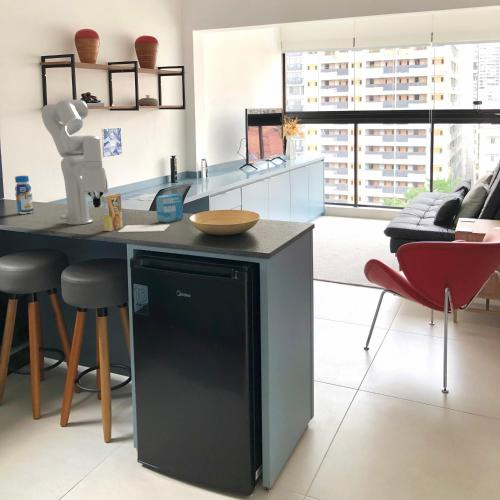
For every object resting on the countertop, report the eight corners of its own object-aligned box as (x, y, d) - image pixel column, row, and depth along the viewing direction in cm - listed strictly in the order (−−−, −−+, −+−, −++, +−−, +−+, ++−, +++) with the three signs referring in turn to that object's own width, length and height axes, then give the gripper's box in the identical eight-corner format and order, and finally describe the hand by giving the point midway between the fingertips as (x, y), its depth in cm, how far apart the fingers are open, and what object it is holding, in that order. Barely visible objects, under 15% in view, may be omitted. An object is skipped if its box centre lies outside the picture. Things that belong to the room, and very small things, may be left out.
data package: (163, 222, 274) (161, 197, 271) (157, 221, 277) (155, 196, 275) (183, 219, 282) (182, 194, 280) (177, 218, 285) (176, 193, 283)
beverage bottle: (22, 212, 323) (18, 175, 318) (37, 211, 322) (32, 175, 317) (14, 214, 315) (9, 177, 310) (29, 214, 313) (25, 176, 309)
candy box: (115, 227, 267) (112, 193, 264) (123, 227, 266) (120, 193, 262) (103, 230, 260) (100, 196, 256) (111, 231, 258) (108, 196, 254)
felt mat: (117, 232, 255) (117, 231, 254) (126, 226, 269) (126, 225, 269) (163, 231, 253) (163, 230, 253) (170, 224, 268) (170, 224, 268)
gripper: (73, 166, 253) (77, 208, 257) (107, 165, 252) (111, 207, 257) (79, 165, 261) (83, 206, 265) (112, 163, 260) (116, 205, 264)
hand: (97, 206), depth 261 cm, fingers closed
